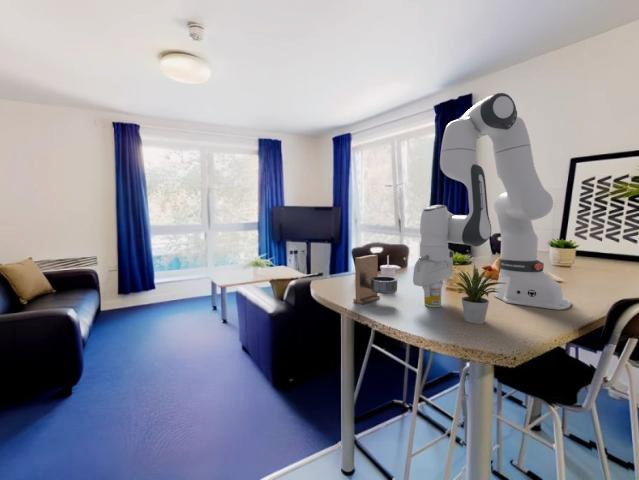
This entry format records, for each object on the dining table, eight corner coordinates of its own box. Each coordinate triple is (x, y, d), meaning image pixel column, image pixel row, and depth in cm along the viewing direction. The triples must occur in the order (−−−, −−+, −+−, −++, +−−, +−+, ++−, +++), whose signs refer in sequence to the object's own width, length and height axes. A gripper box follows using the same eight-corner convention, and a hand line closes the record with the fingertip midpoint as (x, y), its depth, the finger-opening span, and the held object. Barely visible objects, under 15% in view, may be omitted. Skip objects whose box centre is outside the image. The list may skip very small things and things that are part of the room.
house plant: (475, 334, 82) (477, 272, 81) (436, 318, 95) (437, 264, 94) (512, 325, 88) (515, 267, 87) (471, 311, 101) (472, 260, 99)
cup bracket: (403, 304, 110) (403, 258, 108) (385, 310, 103) (386, 261, 101) (371, 296, 120) (371, 254, 118) (353, 302, 113) (353, 257, 111)
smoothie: (395, 287, 132) (395, 254, 131) (397, 291, 126) (397, 256, 125) (379, 287, 133) (379, 254, 132) (380, 291, 127) (380, 256, 125)
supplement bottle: (429, 301, 112) (429, 274, 111) (444, 305, 108) (444, 276, 107) (421, 305, 108) (421, 277, 107) (436, 308, 104) (437, 279, 103)
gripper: (426, 258, 97) (425, 303, 98) (456, 251, 111) (455, 290, 112) (408, 256, 102) (407, 299, 103) (439, 250, 116) (438, 287, 117)
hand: (432, 294), depth 108 cm, fingers closed on supplement bottle, 5 cm apart
